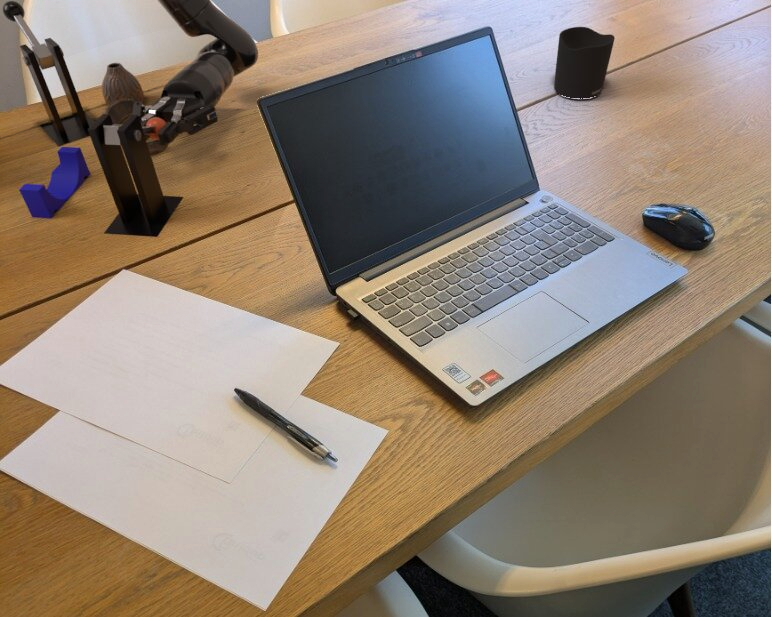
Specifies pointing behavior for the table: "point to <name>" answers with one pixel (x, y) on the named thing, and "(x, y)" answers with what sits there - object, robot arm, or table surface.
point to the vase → (120, 85)
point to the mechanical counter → (122, 112)
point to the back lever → (29, 34)
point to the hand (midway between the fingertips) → (149, 139)
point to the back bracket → (57, 128)
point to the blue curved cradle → (57, 184)
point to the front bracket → (135, 210)
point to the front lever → (151, 128)
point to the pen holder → (582, 62)
